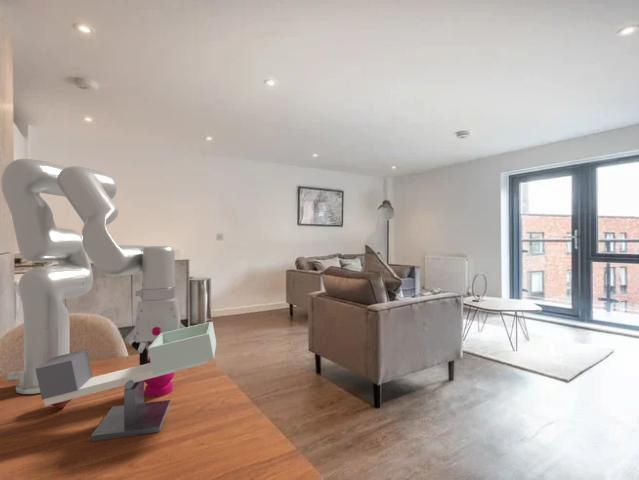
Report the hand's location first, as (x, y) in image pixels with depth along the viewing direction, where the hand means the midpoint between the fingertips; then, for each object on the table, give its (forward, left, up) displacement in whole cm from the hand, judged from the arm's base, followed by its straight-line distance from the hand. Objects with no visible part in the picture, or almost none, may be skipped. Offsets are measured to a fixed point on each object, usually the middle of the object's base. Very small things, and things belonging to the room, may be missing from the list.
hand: (159, 365), depth 85 cm
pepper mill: (0, 0, -7) cm, 7 cm away
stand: (-2, -14, -7) cm, 16 cm away
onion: (-20, -3, -7) cm, 21 cm away
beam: (-1, -14, +2) cm, 14 cm away
